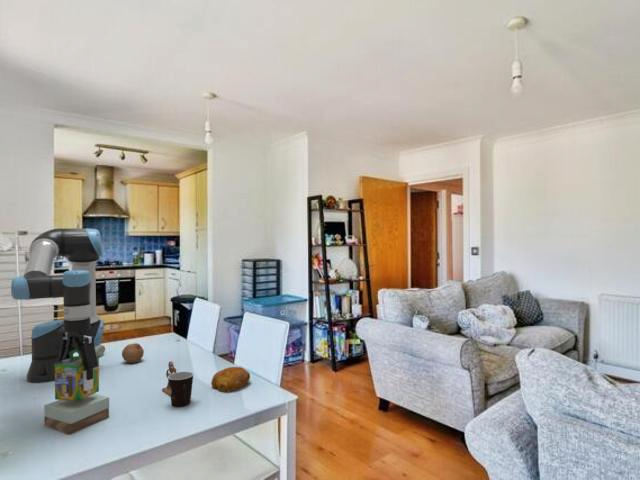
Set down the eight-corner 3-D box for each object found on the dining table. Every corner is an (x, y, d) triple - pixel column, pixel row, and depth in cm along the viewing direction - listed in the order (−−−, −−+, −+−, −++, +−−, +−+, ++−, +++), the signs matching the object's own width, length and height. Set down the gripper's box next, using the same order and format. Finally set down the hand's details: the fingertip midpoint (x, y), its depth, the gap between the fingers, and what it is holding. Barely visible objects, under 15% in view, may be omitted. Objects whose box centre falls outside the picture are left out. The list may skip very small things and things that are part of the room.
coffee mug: (172, 399, 147) (171, 372, 147) (196, 398, 148) (195, 371, 148) (162, 412, 136) (162, 383, 136) (188, 411, 136) (188, 382, 136)
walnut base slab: (44, 427, 127) (44, 416, 127) (84, 411, 138) (84, 401, 138) (69, 436, 121) (69, 424, 121) (109, 419, 133) (108, 408, 132)
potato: (255, 387, 165) (257, 367, 166) (231, 395, 151) (233, 373, 152) (227, 381, 171) (229, 362, 172) (202, 388, 157) (204, 367, 158)
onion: (141, 367, 193) (150, 349, 193) (123, 367, 186) (133, 348, 186) (132, 357, 199) (141, 339, 199) (114, 356, 191) (124, 337, 191)
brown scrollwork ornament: (161, 390, 156) (161, 360, 155) (171, 388, 158) (171, 357, 158) (171, 397, 149) (170, 365, 149) (181, 394, 152) (181, 362, 152)
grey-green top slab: (44, 416, 127) (44, 405, 127) (83, 401, 139) (83, 391, 139) (70, 424, 121) (70, 412, 121) (109, 407, 133) (109, 397, 133)
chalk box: (78, 402, 124) (78, 354, 124) (53, 399, 126) (53, 353, 126) (100, 391, 133) (100, 346, 133) (76, 389, 135) (76, 345, 135)
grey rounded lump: (95, 360, 196) (94, 339, 196) (78, 360, 196) (78, 339, 196) (107, 353, 207) (107, 334, 207) (91, 353, 207) (91, 334, 207)
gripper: (44, 317, 132) (45, 384, 132) (87, 323, 121) (87, 397, 121) (68, 313, 138) (68, 377, 138) (110, 319, 128) (110, 388, 128)
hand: (77, 386), depth 130 cm, fingers closed on chalk box, 10 cm apart
